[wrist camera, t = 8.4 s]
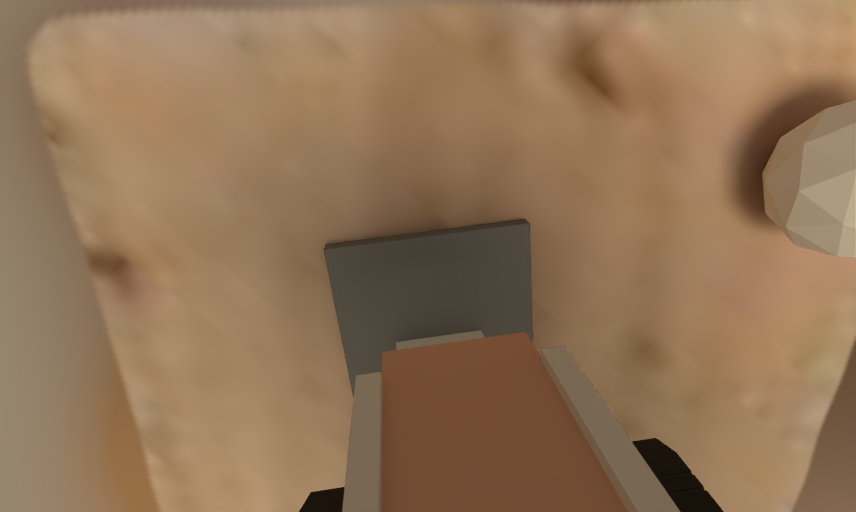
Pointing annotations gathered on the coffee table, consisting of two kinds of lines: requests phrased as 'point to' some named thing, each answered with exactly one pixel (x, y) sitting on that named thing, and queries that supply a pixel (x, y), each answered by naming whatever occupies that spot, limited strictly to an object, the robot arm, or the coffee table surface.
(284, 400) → the coffee table surface
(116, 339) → the coffee table surface
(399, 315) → the mat
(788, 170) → the geometric ball
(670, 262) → the coffee table surface
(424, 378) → the domino
